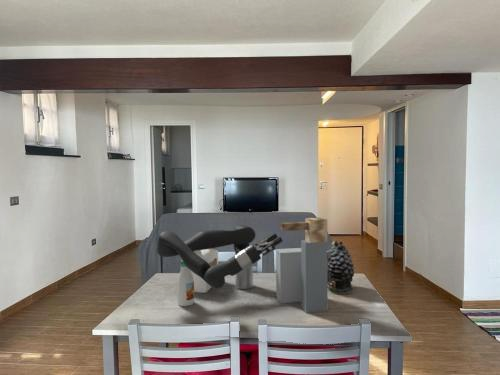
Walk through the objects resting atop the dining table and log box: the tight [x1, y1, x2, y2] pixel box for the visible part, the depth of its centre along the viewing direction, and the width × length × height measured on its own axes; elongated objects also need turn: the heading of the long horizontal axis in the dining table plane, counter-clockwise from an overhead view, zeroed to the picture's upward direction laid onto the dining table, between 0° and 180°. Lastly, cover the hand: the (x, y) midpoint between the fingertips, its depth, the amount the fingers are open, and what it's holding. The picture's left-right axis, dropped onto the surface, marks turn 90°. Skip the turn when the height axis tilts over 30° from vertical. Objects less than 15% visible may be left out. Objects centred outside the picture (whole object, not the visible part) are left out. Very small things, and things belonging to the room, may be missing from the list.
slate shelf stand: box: [275, 239, 329, 314], centre depth 162 cm, size 18×21×31 cm
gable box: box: [181, 248, 219, 294], centre depth 190 cm, size 22×13×28 cm, turn 168°
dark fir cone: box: [327, 240, 355, 295], centre depth 182 cm, size 21×15×25 cm
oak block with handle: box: [280, 217, 328, 243], centre depth 153 cm, size 20×6×10 cm, turn 100°
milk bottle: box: [176, 261, 195, 307], centre depth 164 cm, size 8×8×20 cm
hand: (278, 236), depth 151 cm, fingers open, 8 cm apart
